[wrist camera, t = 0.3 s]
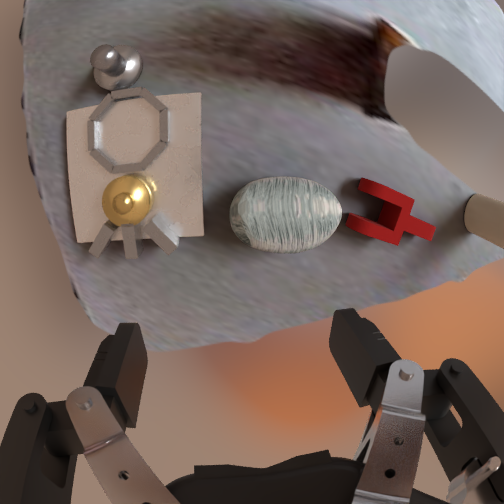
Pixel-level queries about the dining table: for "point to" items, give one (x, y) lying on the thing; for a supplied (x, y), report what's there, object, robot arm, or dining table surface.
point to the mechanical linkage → (389, 216)
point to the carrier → (136, 170)
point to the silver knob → (116, 66)
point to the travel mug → (485, 218)
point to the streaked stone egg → (284, 214)
